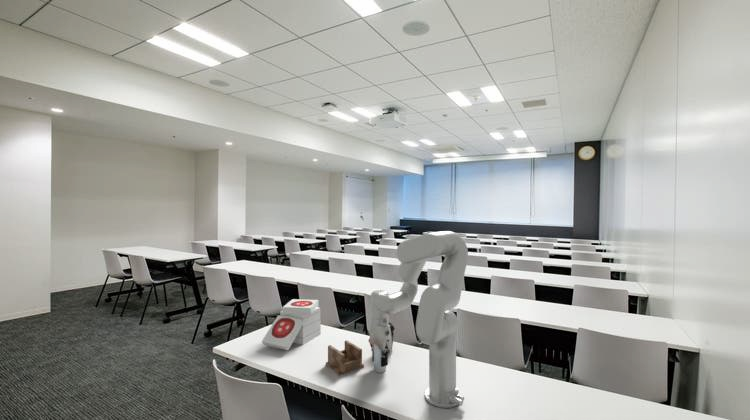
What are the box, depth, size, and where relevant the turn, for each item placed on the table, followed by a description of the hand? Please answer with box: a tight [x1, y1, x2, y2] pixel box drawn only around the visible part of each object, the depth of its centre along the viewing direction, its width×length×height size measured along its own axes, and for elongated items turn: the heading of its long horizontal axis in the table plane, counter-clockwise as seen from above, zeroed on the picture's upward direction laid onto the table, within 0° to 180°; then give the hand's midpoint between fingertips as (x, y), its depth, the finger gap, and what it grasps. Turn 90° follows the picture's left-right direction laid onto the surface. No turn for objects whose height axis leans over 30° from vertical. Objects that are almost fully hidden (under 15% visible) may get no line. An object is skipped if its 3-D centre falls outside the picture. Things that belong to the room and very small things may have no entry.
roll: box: [373, 344, 387, 374], centre depth 138 cm, size 5×5×11 cm
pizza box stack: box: [261, 298, 322, 351], centre depth 169 cm, size 19×30×18 cm, turn 154°
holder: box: [325, 340, 365, 377], centre depth 142 cm, size 12×12×8 cm
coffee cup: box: [389, 322, 396, 350], centre depth 156 cm, size 9×8×13 cm
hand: (379, 362), depth 138 cm, fingers closed on roll, 5 cm apart
